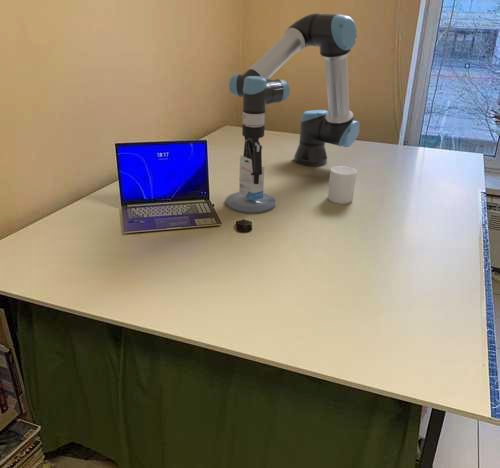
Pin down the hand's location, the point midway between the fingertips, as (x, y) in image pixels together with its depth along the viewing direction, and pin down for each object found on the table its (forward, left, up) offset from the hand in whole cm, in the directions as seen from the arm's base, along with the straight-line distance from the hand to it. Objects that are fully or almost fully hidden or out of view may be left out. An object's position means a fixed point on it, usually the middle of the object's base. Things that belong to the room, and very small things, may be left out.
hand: (251, 186), depth 173 cm
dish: (0, 0, -6) cm, 6 cm away
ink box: (0, 0, -4) cm, 4 cm away
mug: (-34, +1, -7) cm, 35 cm away
